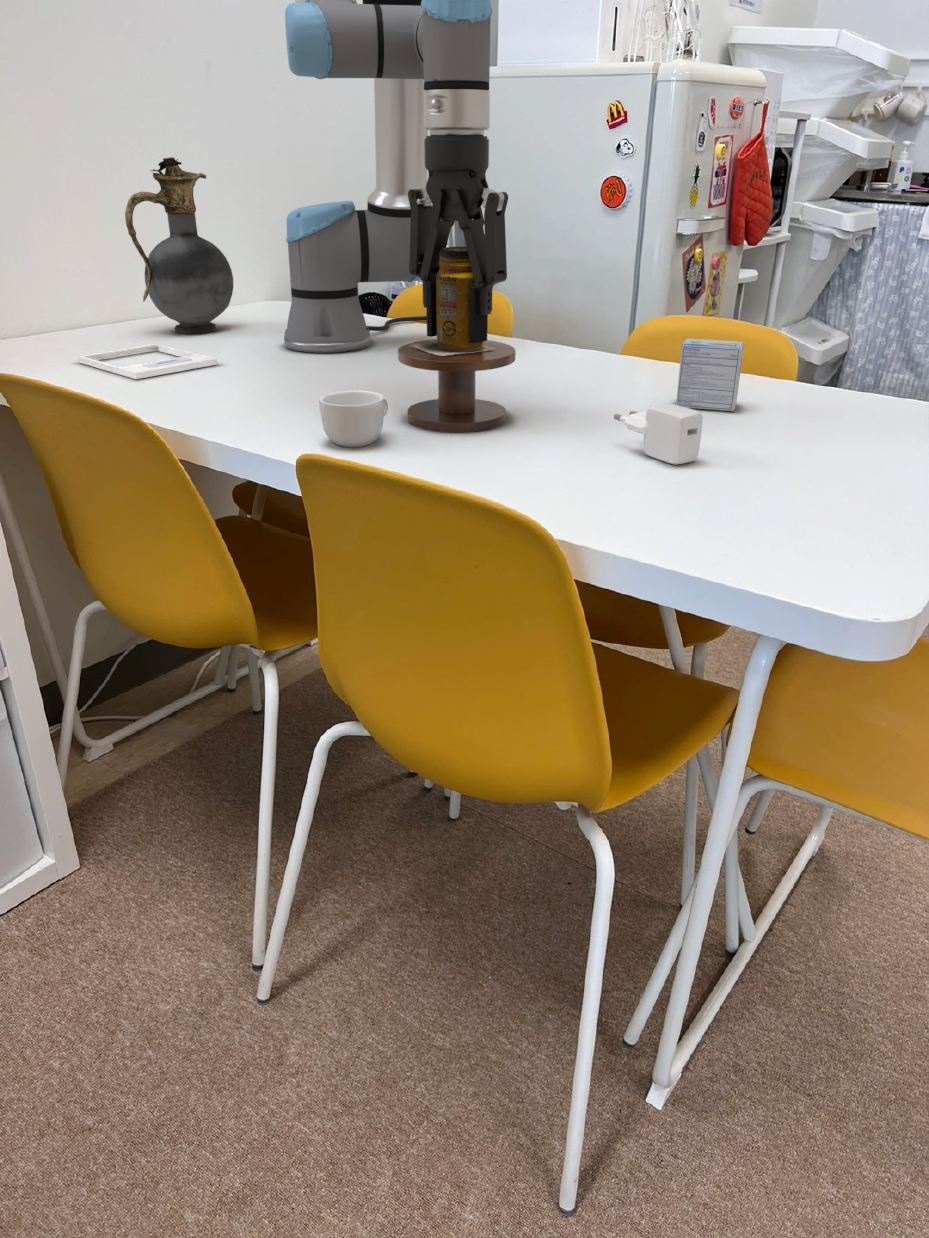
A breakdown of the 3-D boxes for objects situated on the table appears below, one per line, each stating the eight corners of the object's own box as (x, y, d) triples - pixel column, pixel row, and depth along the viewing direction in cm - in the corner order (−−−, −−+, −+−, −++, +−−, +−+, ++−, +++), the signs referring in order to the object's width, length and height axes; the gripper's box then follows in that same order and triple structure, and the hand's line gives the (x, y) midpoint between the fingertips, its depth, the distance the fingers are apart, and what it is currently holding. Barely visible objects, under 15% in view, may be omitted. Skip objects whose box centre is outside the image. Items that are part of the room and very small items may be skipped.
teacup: (354, 455, 109) (351, 409, 107) (308, 443, 113) (305, 399, 111) (410, 436, 116) (409, 393, 114) (365, 426, 120) (363, 384, 118)
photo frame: (134, 372, 142) (77, 355, 153) (136, 379, 143) (78, 362, 154) (216, 357, 152) (156, 343, 163) (217, 364, 152) (157, 349, 163)
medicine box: (736, 405, 130) (745, 341, 127) (733, 413, 127) (742, 347, 123) (679, 400, 133) (685, 337, 129) (674, 408, 129) (681, 343, 125)
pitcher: (246, 328, 182) (229, 157, 169) (160, 342, 169) (134, 158, 156) (213, 322, 189) (194, 156, 175) (128, 335, 176) (99, 157, 162)
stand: (449, 399, 133) (449, 334, 129) (536, 417, 125) (538, 348, 120) (376, 421, 123) (373, 350, 118) (465, 441, 114) (465, 367, 110)
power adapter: (605, 445, 113) (609, 396, 110) (634, 438, 116) (638, 391, 113) (673, 468, 105) (679, 417, 102) (703, 461, 107) (709, 410, 105)
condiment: (497, 350, 119) (499, 249, 114) (441, 357, 115) (440, 253, 109) (465, 341, 124) (465, 244, 119) (410, 348, 120) (408, 248, 115)
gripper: (374, 133, 111) (381, 333, 122) (503, 132, 100) (499, 352, 111) (416, 134, 116) (419, 326, 127) (543, 133, 106) (535, 343, 116)
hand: (456, 338), depth 119 cm, fingers open, 6 cm apart
